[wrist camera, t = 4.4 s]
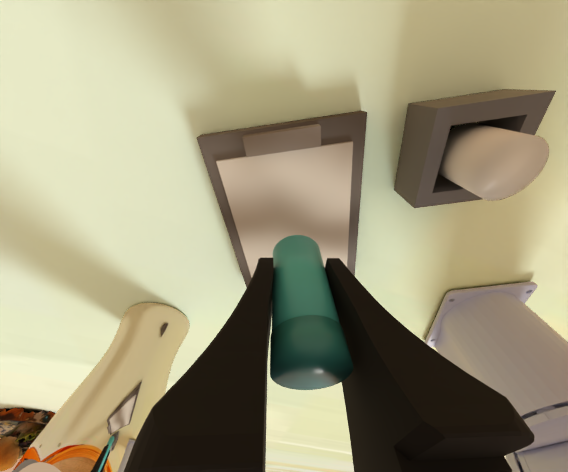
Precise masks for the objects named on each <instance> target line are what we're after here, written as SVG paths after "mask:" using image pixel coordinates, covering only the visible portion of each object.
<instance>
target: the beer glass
mask: <svg viewBox="0 0 568 472" xmlns="http://www.w3.org/2000/svg"><path fill="white" fill-rule="evenodd" d="M189 328H190V323H189V320H188V319H187V317H186V316H185V315H184V314H183V313H182V312H180V311H179V310H177V309H175V308H173V307H171V306H168V305H164V304H160V303H140V304H136V305H134V306H132V307H130V308H129V309H128V310H127V311H126V312H125V314H124V315H123V318H122V320H121V322H120V325H119V328H118V330H117V333H116V335H115V337H114V339H113V341H112V343H111V345H110V346H109V348H108V350H107V351H106V353H105V354H104V356H103V357H102V358H101V360H100V361H99V362H98V364H97V365H96V366H95V367H94V368H93V370H92V371H91V372H90V373H89V375H88V376H87V377H86V378H85V379H84V381H83V382H82V383H81V384H80V385H79V386H78V388H77V389H76V390H75V391H74V392H73V393H72V395H71V396H70V397H69V398H68V399H67V401H66V402H65V403H64V404H63V405H62V407H61V408H60V409H59V410H58V411H57V413H56V414H55V415H54V416H53V417H52V419H51V420H50V421H49V422H48V424H47V425H46V426H45V427H44V429H43V430H42V431H41V433H40V434H39V435H38V436H37V438H36V439H35V440H34V441H33V443H32V444H31V445H30V447H29V448H28V449H27V451H26V452H25V454H24V455H23V457H22V458H21V459H20V461H19V462H18V464H17V465H16V467H15V468H14V470H13V471H12V472H124V469H125V467H126V464H127V461H128V459H129V456H130V453H131V451H132V448H133V445H134V443H135V440H136V438H137V436H138V434H139V432H140V430H141V428H142V426H143V424H144V422H145V420H146V418H147V416H148V414H149V412H150V411H151V409H152V407H153V406H154V405H155V404H156V403H157V402H158V401H159V400H160V399H161V398H162V397H163V396H164V395H165V392H166V387H167V382H168V378H169V373H170V370H171V367H172V363H173V361H174V358H175V356H176V354H177V352H178V350H179V348H180V346H181V344H182V343H183V341H184V339H185V337H186V335H187V334H188V331H189Z"/></svg>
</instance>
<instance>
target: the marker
mask: <svg viewBox="0 0 568 472" xmlns="http://www.w3.org/2000/svg"><path fill="white" fill-rule="evenodd" d="M273 264H274V269H273V291H272V334H271V354H270V375H271V378H272V380H273V381H274V382H276V383H277V384H279V385H281V386H283V387H286V388H290V389H297V390H313V389H321V388H325V387H329V386H333V385H335V384H338V383H340V382H342V381H343V380H345V379H346V378H348V377H349V376H350V374H351V373H352V371H353V363H352V359H351V356H350V352H349V349H348V345H347V342H346V338H345V335H344V331H343V328H342V326H341V325H340V322H339V318H338V314H337V311H336V307H335V303H334V300H333V296H332V293H331V289H330V285H329V282H328V278H327V274H326V271H325V267H324V263H323V260H322V256H321V253H320V249H319V246H318V244H317V243H316V242H315V241H314V240H313V239H311V238H310V237H307V236H304V235H292V236H288V237H285V238H283V239H282V240H280V241H279V242H278V243H277V244H276V245H275V247H274V249H273Z"/></svg>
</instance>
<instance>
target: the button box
mask: <svg viewBox="0 0 568 472" xmlns="http://www.w3.org/2000/svg"><path fill="white" fill-rule="evenodd" d="M555 92H556V91H548V90H515V89H502V90H496V91H489V92H483V93H476V94H469V95H463V96H456V97H449V98H443V99H436V100H430V101H423V102H416V103H410V104H408V110H407V116H406V122H405V128H404V134H403V139H402V145H401V151H400V157H399V163H398V169H397V175H396V181H395V187H394V190H395V191H396V192H397V193H398V194H399V195H400V196H401V197H402V198H404V199H405V200H406V201H407V202H408V203H409V204H410V205H411V206H412V207H414V208H419V207H426V206H434V205H442V204H450V203H457V202H465V201H473V200H480V199H482V198H480V197H479V196H477V195H475V194H473V193H472V192H470V191H468V190H466V189H464V188H463V187H461V186H459V185H457V184H455V183H454V182H452V181H450V180H448V179H446V178H445V177H443V176H441V175H439V174H438V170H439V167H440V163H441V160H442V156H443V152H444V149H445V145H446V142H447V138H448V134H449V131H450V127H451V125H458V124H465V123H472V122H478V124H481V125H486V126H491V127H496V128H501V129H506V130H511V131H515V132H520V133H525V134H530V135H535V133H536V131H537V129H538V127H539V125H540V123H541V121H542V119H543V117H544V115H545V113H546V110H547V108H548V106H549V104H550V102H551V100H552V98H553V96H554V94H555Z"/></svg>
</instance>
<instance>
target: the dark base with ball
mask: <svg viewBox="0 0 568 472" xmlns="http://www.w3.org/2000/svg"><path fill="white" fill-rule="evenodd" d="M6 409H7V408H5V409H0V438H1V439H0V471H4V470H7V469H9V468H11V467H13V466H14V464H15V463H16V462H17V459H19V458H22V457H23V455H24V454H25V452H26V451H27V449H28V448H29V447H30V445H31V444H32V443H33V441H34V440H35V439H36V438H37V436H38V435H39V434H40V433H41V431H42V430H43V429H44V427H45V426H46V425H47V424H48V422H49V421H50V420H51V419H52V417H53V416H54V415H55V413H53V412H51V411H49V412H48V413H46V412H45V411H44V410H43V411H41V412H39V413H34V412H33V411H32V412H31V413H27V412H23V411H24V408H20V409H18V408H13V409H11V410H9V411H7V412H6Z"/></svg>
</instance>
